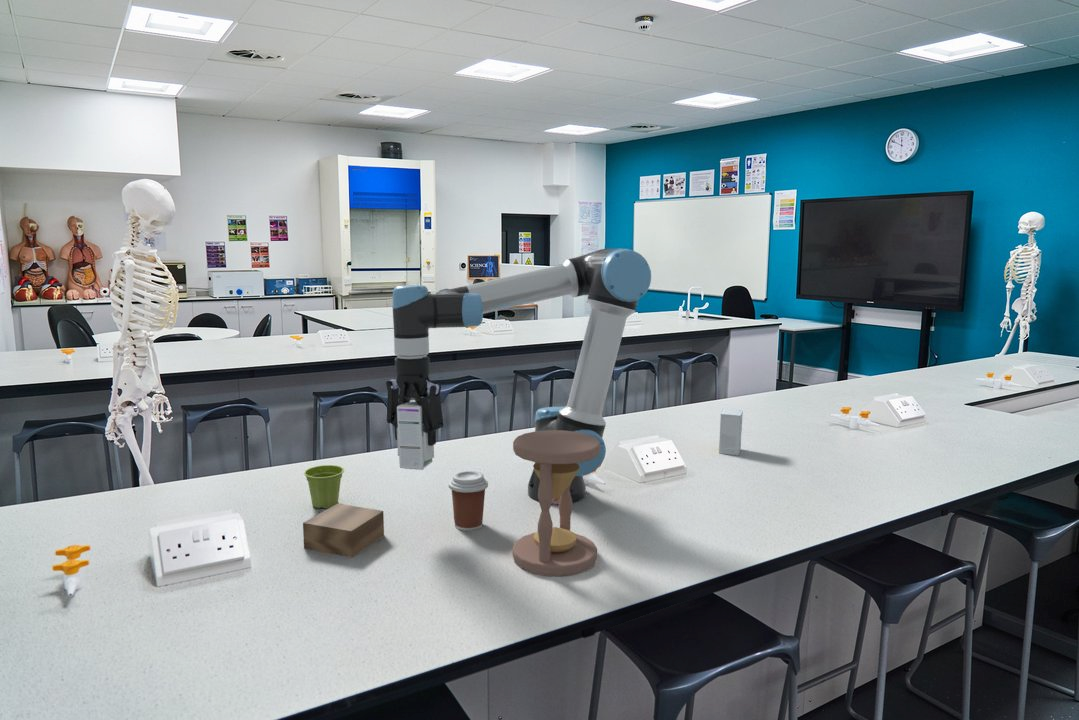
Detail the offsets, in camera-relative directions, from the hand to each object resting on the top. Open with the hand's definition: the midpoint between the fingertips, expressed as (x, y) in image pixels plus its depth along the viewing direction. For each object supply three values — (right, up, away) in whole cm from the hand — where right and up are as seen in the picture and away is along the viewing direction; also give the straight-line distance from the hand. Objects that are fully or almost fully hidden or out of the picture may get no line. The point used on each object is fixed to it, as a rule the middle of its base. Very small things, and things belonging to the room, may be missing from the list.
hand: (415, 456), depth 157 cm
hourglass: (+31, -19, -12) cm, 39 cm away
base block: (-14, -18, -6) cm, 24 cm away
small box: (+89, -8, +66) cm, 111 cm away
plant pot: (-25, -14, +16) cm, 33 cm away
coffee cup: (+11, -17, +4) cm, 21 cm away
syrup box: (0, -2, 0) cm, 2 cm away
